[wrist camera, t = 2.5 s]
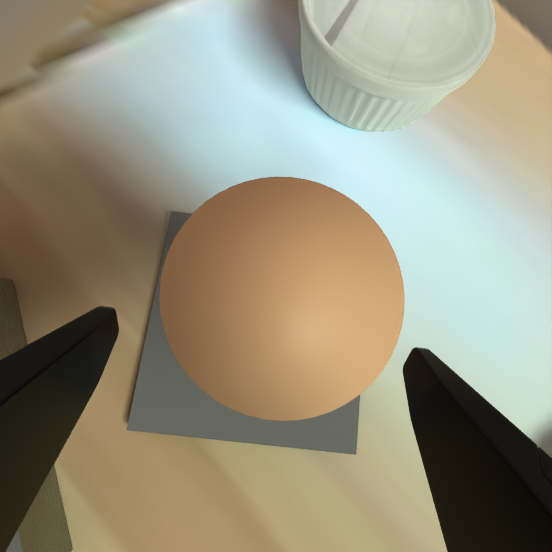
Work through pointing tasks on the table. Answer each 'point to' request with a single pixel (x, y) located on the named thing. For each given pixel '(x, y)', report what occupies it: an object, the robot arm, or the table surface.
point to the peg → (281, 298)
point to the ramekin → (390, 56)
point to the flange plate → (48, 505)
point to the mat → (210, 413)
